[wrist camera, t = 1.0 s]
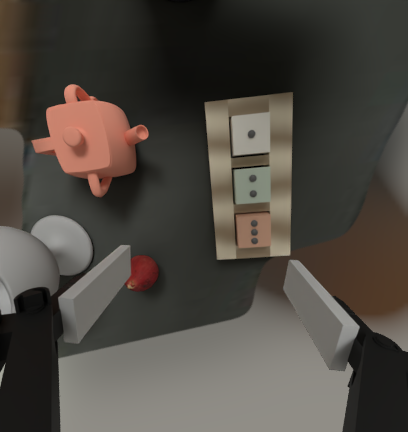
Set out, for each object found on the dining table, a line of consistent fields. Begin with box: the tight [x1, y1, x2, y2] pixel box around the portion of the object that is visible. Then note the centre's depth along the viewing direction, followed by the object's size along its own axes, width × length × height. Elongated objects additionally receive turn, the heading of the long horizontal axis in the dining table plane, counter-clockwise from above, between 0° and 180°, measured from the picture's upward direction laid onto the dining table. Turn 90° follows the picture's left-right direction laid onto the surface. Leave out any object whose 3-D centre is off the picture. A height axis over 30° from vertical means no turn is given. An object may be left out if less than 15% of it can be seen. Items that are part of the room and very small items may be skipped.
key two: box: [233, 167, 271, 204], centre depth 29 cm, size 5×5×3 cm
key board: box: [205, 92, 293, 260], centre depth 30 cm, size 24×12×3 cm, turn 5°
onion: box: [125, 255, 159, 292], centre depth 32 cm, size 6×6×8 cm
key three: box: [235, 211, 271, 248], centre depth 30 cm, size 5×5×3 cm
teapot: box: [32, 85, 149, 197], centre depth 27 cm, size 12×12×10 cm
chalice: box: [0, 215, 93, 315], centre depth 29 cm, size 14×14×15 cm
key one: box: [230, 112, 270, 157], centre depth 27 cm, size 5×5×3 cm
